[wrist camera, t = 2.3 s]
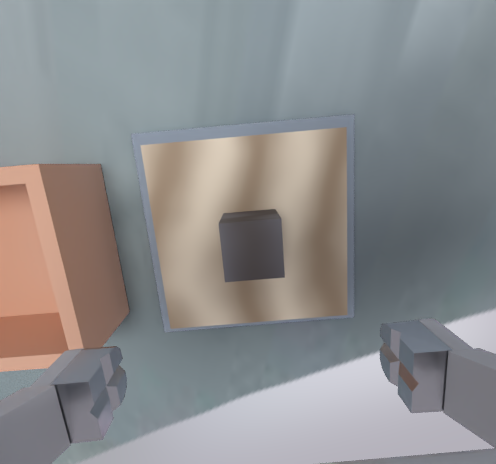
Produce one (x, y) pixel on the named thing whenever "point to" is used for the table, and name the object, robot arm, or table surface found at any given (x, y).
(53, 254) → the open square planter box
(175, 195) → the birch lid
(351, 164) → the slate mat
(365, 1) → the table surface
